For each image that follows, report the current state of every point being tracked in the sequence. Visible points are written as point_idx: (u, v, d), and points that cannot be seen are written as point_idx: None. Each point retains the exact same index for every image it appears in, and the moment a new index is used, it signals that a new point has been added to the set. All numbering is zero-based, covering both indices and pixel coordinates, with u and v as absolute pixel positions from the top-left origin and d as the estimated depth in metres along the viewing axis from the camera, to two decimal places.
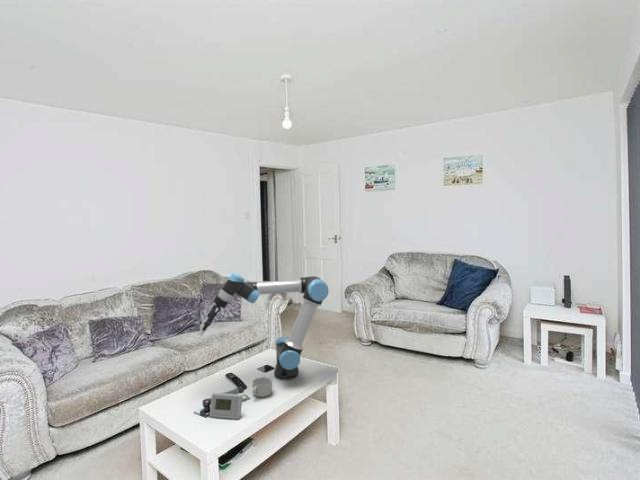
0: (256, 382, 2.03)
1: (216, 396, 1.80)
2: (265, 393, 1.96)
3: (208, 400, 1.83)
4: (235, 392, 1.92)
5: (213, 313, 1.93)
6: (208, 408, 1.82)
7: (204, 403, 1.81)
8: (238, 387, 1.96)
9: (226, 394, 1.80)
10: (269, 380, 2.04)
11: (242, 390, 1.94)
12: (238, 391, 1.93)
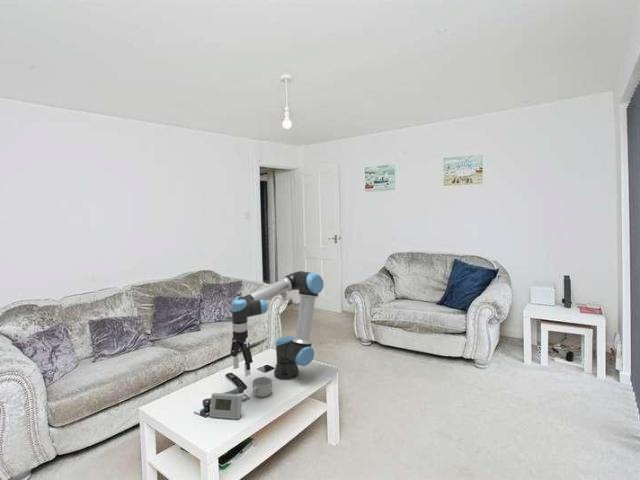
0: (256, 382, 2.03)
1: (216, 396, 1.80)
2: (265, 393, 1.96)
3: (208, 400, 1.83)
4: (235, 392, 1.92)
5: (247, 349, 1.81)
6: (208, 408, 1.82)
7: (204, 403, 1.81)
8: (238, 387, 1.96)
9: (226, 394, 1.80)
10: (269, 380, 2.04)
11: (242, 390, 1.94)
12: (238, 391, 1.93)
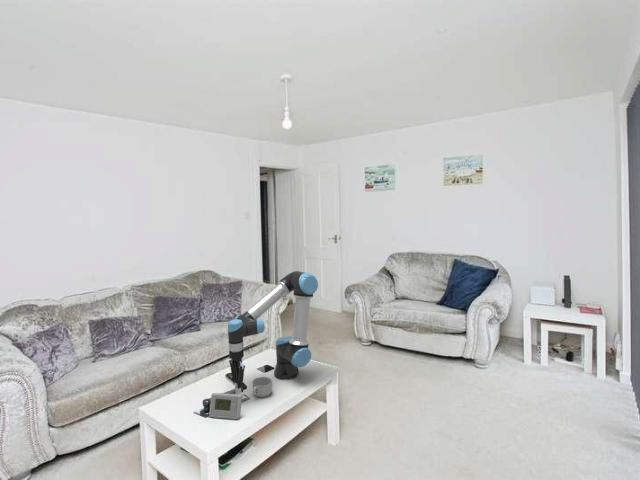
0: (256, 382, 2.03)
1: (216, 396, 1.80)
2: (265, 393, 1.96)
3: (208, 400, 1.83)
4: None
5: (241, 371, 1.88)
6: (208, 408, 1.82)
7: (204, 403, 1.81)
8: None
9: (226, 394, 1.80)
10: (269, 380, 2.04)
11: (242, 390, 1.95)
12: None
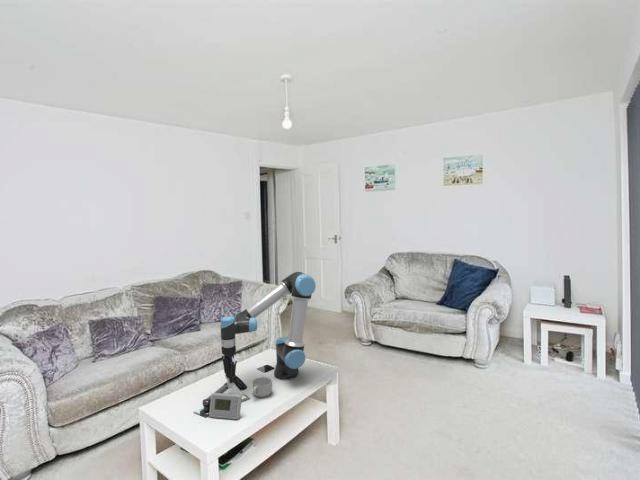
0: (256, 382, 2.03)
1: (216, 396, 1.80)
2: (265, 393, 1.96)
3: (208, 400, 1.83)
4: (225, 388, 1.97)
5: (233, 366, 1.94)
6: (208, 408, 1.82)
7: (206, 403, 1.81)
8: (225, 383, 2.01)
9: (225, 394, 1.80)
10: (269, 380, 2.04)
11: None
12: None
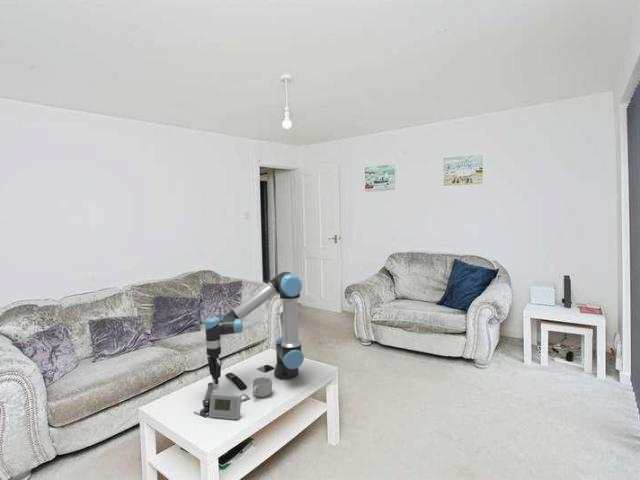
0: (256, 382, 2.03)
1: (216, 397, 1.80)
2: (265, 393, 1.96)
3: (207, 399, 1.84)
4: (212, 387, 1.98)
5: (218, 367, 1.93)
6: (208, 408, 1.82)
7: (208, 402, 1.81)
8: (208, 384, 2.01)
9: (225, 394, 1.80)
10: (269, 380, 2.04)
11: None
12: None
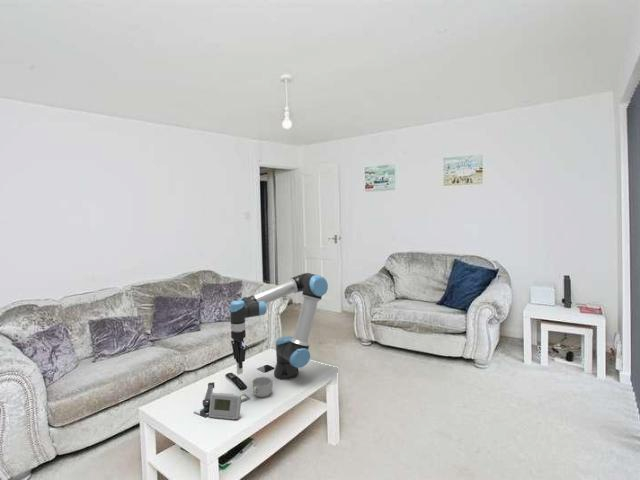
0: (256, 382, 2.03)
1: (216, 397, 1.80)
2: (265, 393, 1.96)
3: (207, 399, 1.84)
4: (212, 387, 1.98)
5: (242, 351, 1.90)
6: (208, 408, 1.82)
7: (208, 402, 1.81)
8: (208, 384, 2.01)
9: (225, 394, 1.80)
10: (269, 380, 2.04)
11: None
12: (213, 386, 2.00)
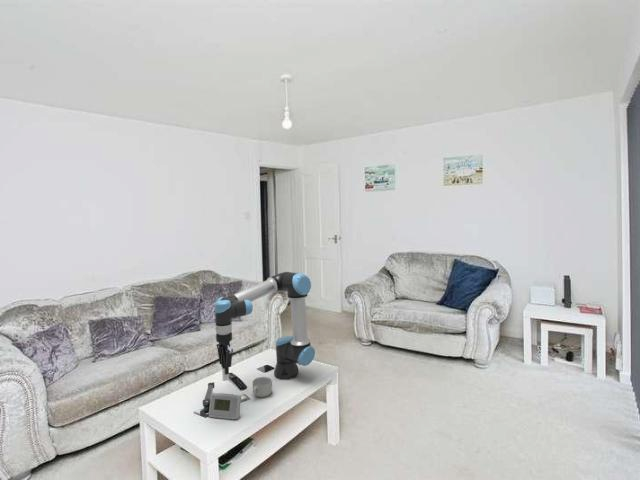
0: (256, 382, 2.03)
1: (215, 397, 1.80)
2: (265, 393, 1.96)
3: (207, 399, 1.84)
4: (212, 387, 1.98)
5: (228, 356, 1.73)
6: (208, 408, 1.82)
7: (208, 402, 1.81)
8: (208, 384, 2.01)
9: (225, 394, 1.80)
10: (269, 380, 2.04)
11: None
12: (213, 386, 2.00)
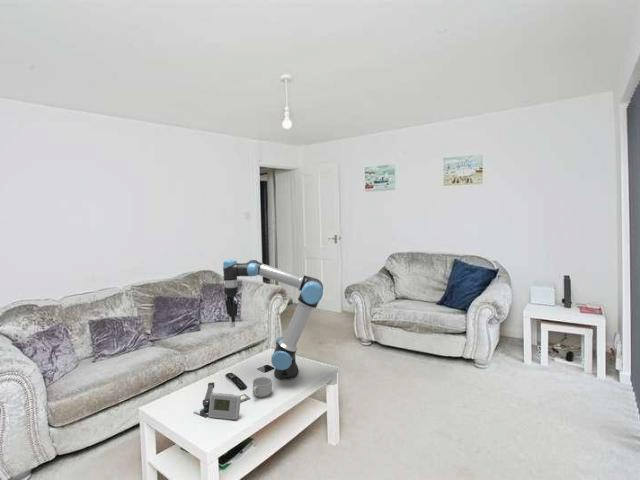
0: (256, 382, 2.03)
1: (215, 397, 1.80)
2: (265, 393, 1.96)
3: (207, 399, 1.84)
4: (212, 387, 1.98)
5: (235, 305, 2.06)
6: (208, 408, 1.82)
7: (208, 402, 1.81)
8: (208, 384, 2.01)
9: (225, 394, 1.80)
10: (269, 380, 2.04)
11: None
12: (213, 386, 2.00)
